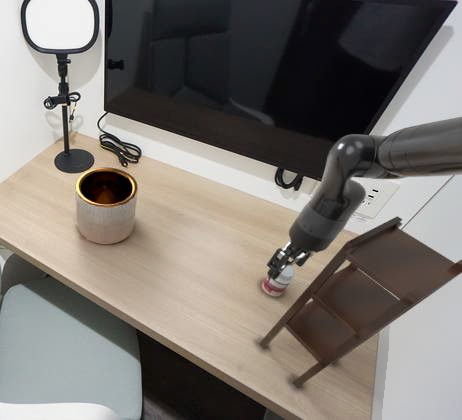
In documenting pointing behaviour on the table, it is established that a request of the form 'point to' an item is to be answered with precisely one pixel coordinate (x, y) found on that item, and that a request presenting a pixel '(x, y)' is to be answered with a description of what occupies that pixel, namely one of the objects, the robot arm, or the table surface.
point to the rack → (363, 293)
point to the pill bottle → (278, 282)
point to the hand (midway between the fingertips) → (284, 269)
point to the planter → (105, 204)
